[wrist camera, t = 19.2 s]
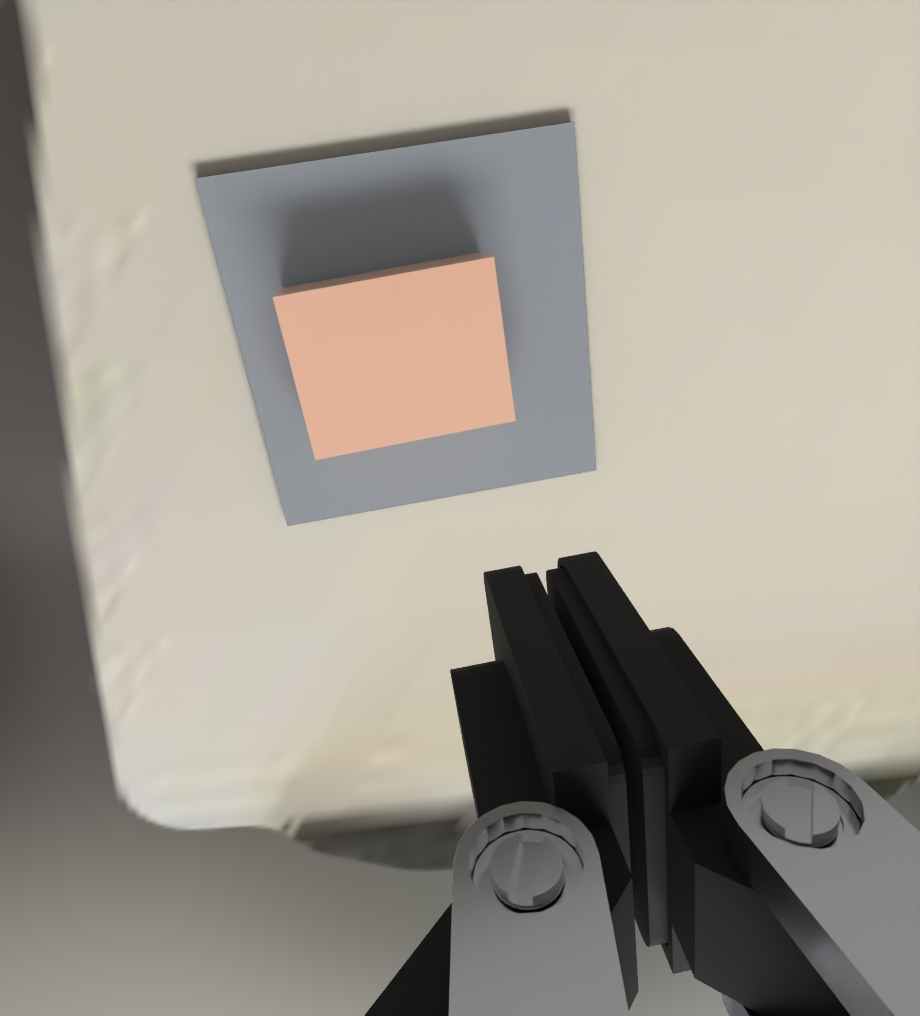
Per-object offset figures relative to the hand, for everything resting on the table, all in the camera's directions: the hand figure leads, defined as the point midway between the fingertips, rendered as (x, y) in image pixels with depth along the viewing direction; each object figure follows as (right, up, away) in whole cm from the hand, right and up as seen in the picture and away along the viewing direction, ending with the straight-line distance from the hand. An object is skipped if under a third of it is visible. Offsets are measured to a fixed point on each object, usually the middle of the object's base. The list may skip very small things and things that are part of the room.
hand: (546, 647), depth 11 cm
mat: (-3, +10, +23) cm, 25 cm away
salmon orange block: (0, +10, +21) cm, 23 cm away
